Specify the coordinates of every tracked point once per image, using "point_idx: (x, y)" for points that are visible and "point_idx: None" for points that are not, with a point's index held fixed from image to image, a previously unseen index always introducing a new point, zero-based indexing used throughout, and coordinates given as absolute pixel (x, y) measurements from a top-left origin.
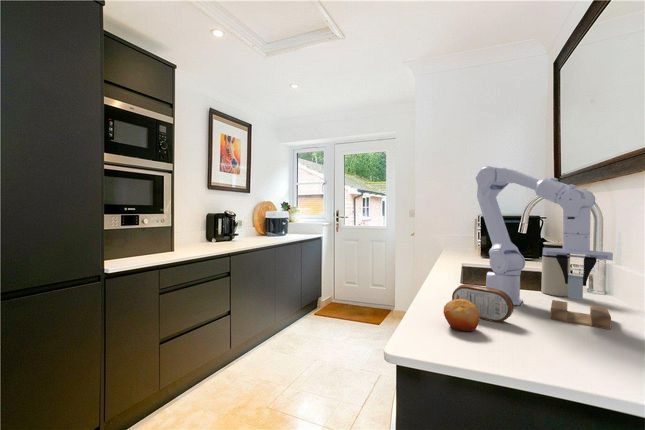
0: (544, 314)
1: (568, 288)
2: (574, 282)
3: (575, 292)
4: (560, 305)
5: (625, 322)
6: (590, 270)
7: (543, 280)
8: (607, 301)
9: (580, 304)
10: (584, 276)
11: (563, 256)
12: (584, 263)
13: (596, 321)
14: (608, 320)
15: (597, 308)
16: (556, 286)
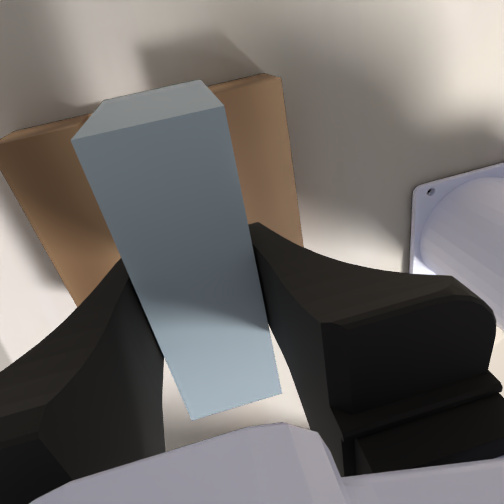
0: (302, 140)
1: (203, 89)
2: (158, 113)
3: (149, 96)
4: (254, 187)
5: (36, 311)
6: (33, 350)
7: None
8: None
9: None
10: (114, 291)
11: (414, 437)
12: (62, 380)
13: (65, 122)
14: (7, 140)
15: None
16: None
